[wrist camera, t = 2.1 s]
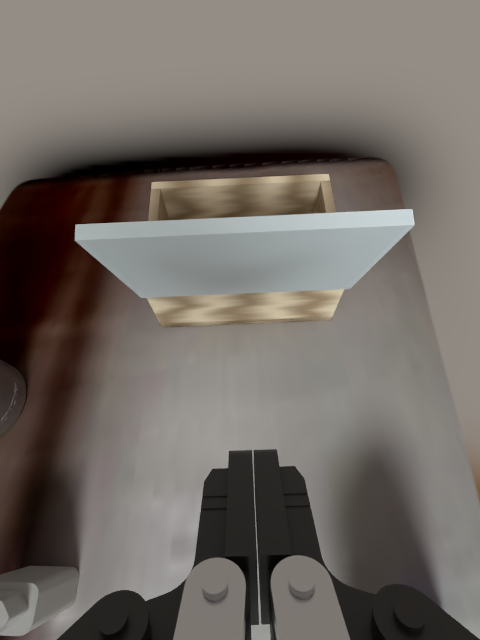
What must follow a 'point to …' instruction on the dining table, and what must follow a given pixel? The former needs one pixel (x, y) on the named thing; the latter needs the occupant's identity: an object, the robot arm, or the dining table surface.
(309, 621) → the robot arm
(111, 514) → the dining table surface
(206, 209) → the chest
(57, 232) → the dining table surface
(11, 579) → the power adapter
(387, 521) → the dining table surface
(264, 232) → the lid
